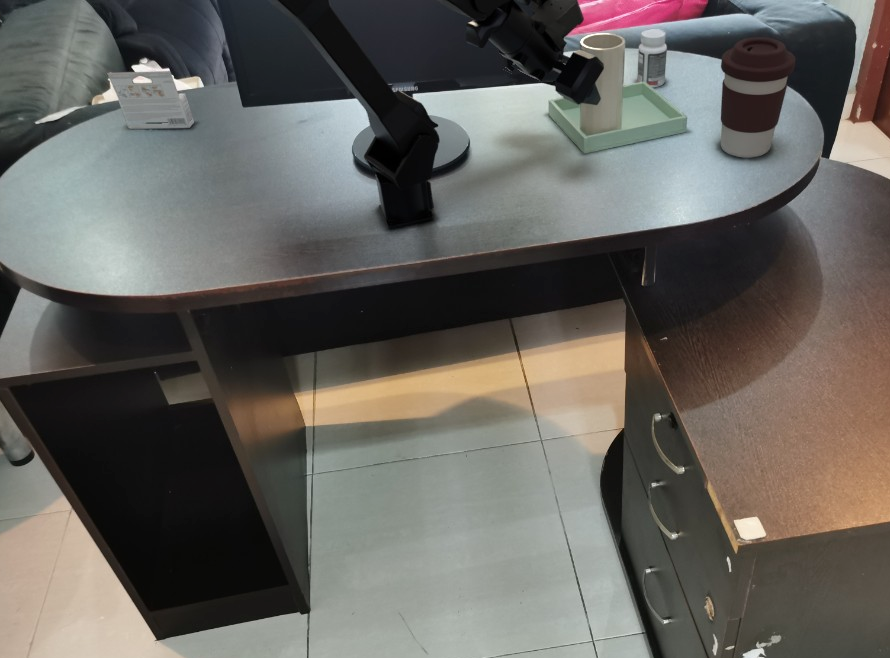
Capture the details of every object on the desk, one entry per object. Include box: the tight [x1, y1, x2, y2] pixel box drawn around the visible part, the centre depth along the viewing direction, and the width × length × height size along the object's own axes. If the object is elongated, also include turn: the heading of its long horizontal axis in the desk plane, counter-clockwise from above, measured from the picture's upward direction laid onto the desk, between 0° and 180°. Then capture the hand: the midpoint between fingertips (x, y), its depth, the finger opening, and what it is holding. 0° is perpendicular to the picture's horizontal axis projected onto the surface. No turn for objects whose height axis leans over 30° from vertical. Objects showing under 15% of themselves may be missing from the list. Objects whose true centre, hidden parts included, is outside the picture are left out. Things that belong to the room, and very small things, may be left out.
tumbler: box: [579, 32, 626, 136], centre depth 125 cm, size 6×6×14 cm
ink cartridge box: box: [106, 70, 195, 130], centre depth 138 cm, size 2×11×10 cm, turn 85°
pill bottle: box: [636, 28, 668, 89], centre depth 141 cm, size 5×5×8 cm
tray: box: [548, 81, 688, 154], centre depth 132 cm, size 17×15×2 cm
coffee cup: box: [720, 36, 796, 159], centre depth 119 cm, size 10×10×15 cm
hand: (577, 92), depth 122 cm, fingers open, 9 cm apart
